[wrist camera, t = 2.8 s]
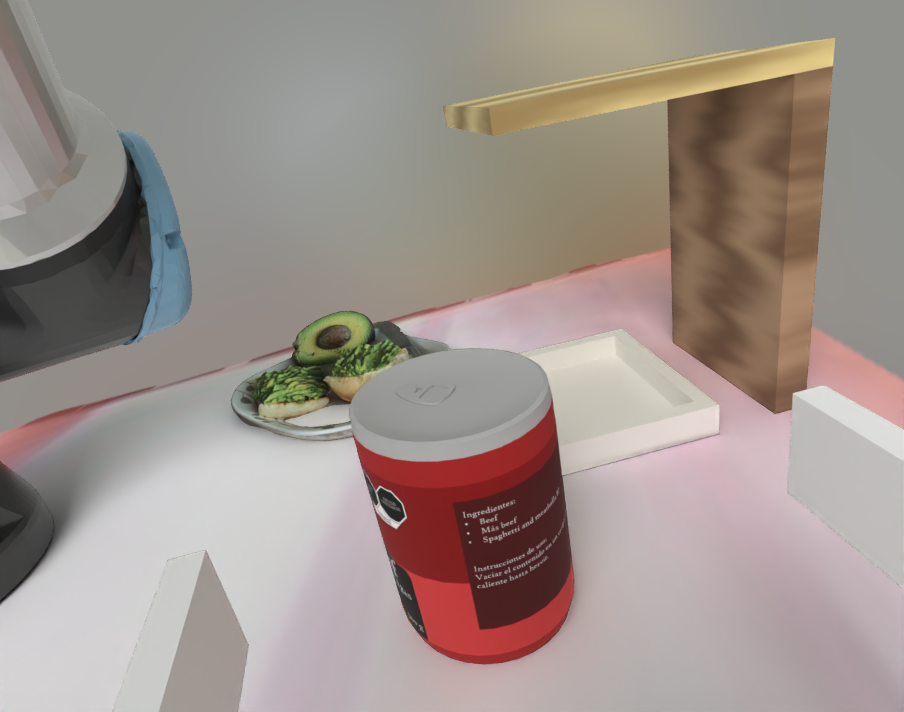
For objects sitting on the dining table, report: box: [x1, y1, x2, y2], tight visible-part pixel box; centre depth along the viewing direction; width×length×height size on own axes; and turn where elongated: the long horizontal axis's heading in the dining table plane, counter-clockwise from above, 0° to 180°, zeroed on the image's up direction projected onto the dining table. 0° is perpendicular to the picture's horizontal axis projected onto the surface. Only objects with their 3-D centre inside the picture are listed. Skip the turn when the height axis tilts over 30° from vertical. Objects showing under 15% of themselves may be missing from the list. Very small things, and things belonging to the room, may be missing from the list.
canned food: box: [349, 348, 574, 664], centre depth 25 cm, size 8×8×11 cm
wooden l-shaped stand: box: [443, 38, 835, 414], centre depth 37 cm, size 12×17×20 cm
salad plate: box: [231, 311, 450, 441], centre depth 49 cm, size 19×18×5 cm
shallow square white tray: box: [518, 329, 720, 476], centre depth 40 cm, size 13×13×2 cm
